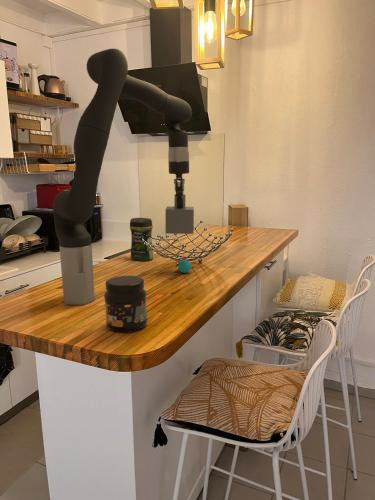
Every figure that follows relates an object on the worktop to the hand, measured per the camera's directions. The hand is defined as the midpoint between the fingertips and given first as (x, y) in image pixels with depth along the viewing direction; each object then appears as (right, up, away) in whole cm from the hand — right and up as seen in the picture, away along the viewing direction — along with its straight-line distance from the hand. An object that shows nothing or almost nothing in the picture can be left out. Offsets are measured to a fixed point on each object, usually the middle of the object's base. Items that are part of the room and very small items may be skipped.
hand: (180, 207), depth 147 cm
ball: (+2, -22, +4) cm, 22 cm away
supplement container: (-13, -35, -46) cm, 59 cm away
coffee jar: (-17, -20, +28) cm, 38 cm away
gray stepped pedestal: (0, -9, +2) cm, 9 cm away
